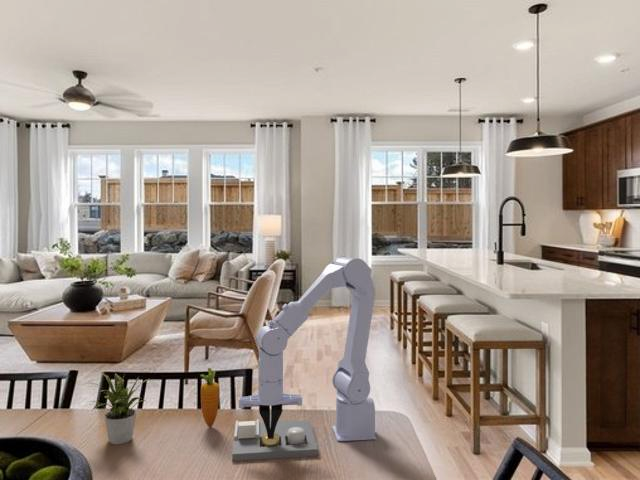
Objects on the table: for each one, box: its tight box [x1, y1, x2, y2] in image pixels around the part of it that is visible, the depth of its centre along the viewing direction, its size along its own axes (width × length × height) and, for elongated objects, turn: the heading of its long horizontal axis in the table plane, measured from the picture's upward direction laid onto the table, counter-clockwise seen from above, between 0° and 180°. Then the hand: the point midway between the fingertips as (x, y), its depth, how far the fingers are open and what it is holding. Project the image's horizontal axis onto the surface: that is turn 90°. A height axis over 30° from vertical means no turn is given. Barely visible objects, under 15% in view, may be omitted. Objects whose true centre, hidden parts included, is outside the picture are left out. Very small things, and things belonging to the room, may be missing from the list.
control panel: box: [231, 419, 319, 462], centre depth 112 cm, size 19×16×2 cm
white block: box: [238, 420, 256, 439], centre depth 111 cm, size 4×2×3 cm, turn 98°
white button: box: [287, 427, 306, 446], centre depth 109 cm, size 4×4×2 cm
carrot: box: [200, 367, 220, 428], centre depth 119 cm, size 5×5×15 cm
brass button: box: [261, 433, 280, 447], centre depth 109 cm, size 4×4×2 cm
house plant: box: [86, 372, 150, 445], centre depth 112 cm, size 14×14×16 cm
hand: (270, 436), depth 109 cm, fingers closed, pressing on brass button
